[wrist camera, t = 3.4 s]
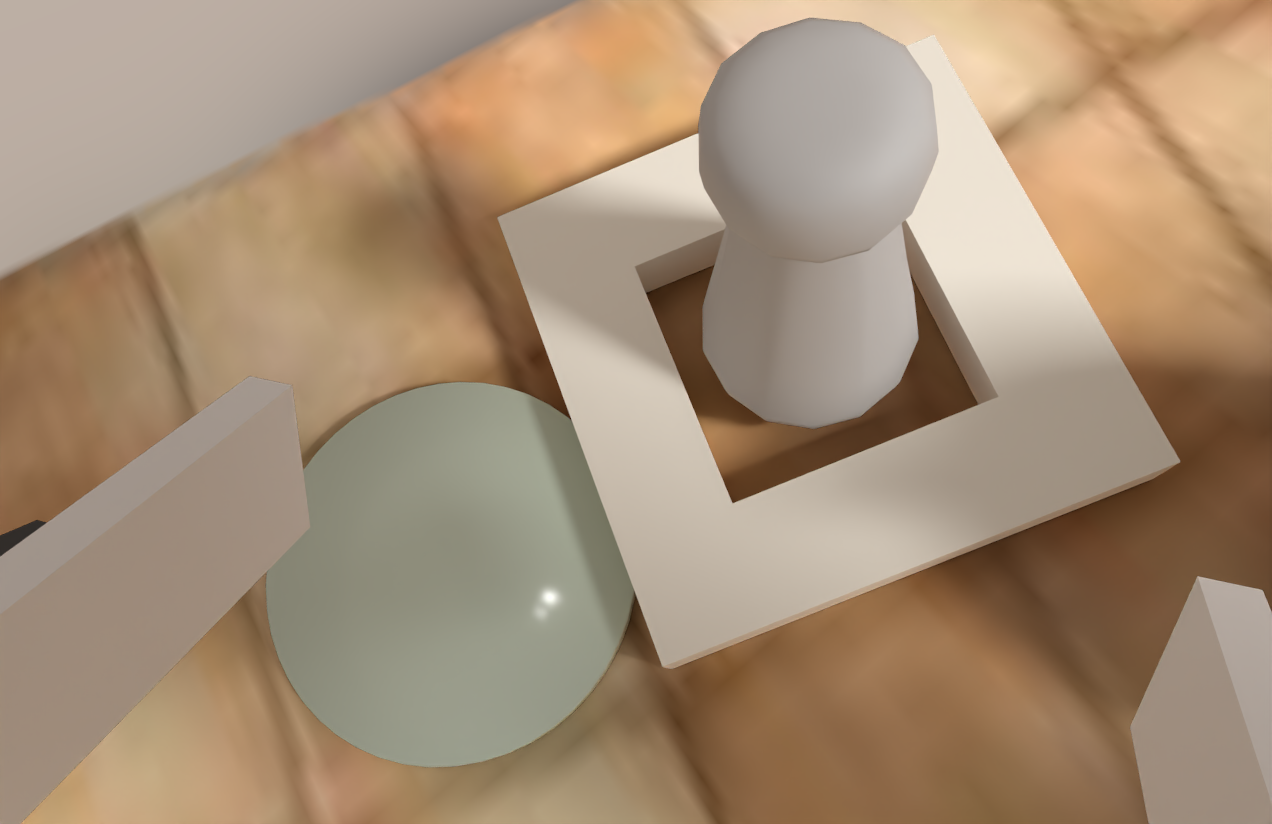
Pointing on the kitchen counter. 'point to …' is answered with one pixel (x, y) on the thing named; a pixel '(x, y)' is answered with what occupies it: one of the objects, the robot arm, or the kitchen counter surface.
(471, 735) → the coaster
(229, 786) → the kitchen counter surface
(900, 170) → the salt shaker
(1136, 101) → the kitchen counter surface
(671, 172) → the collar
